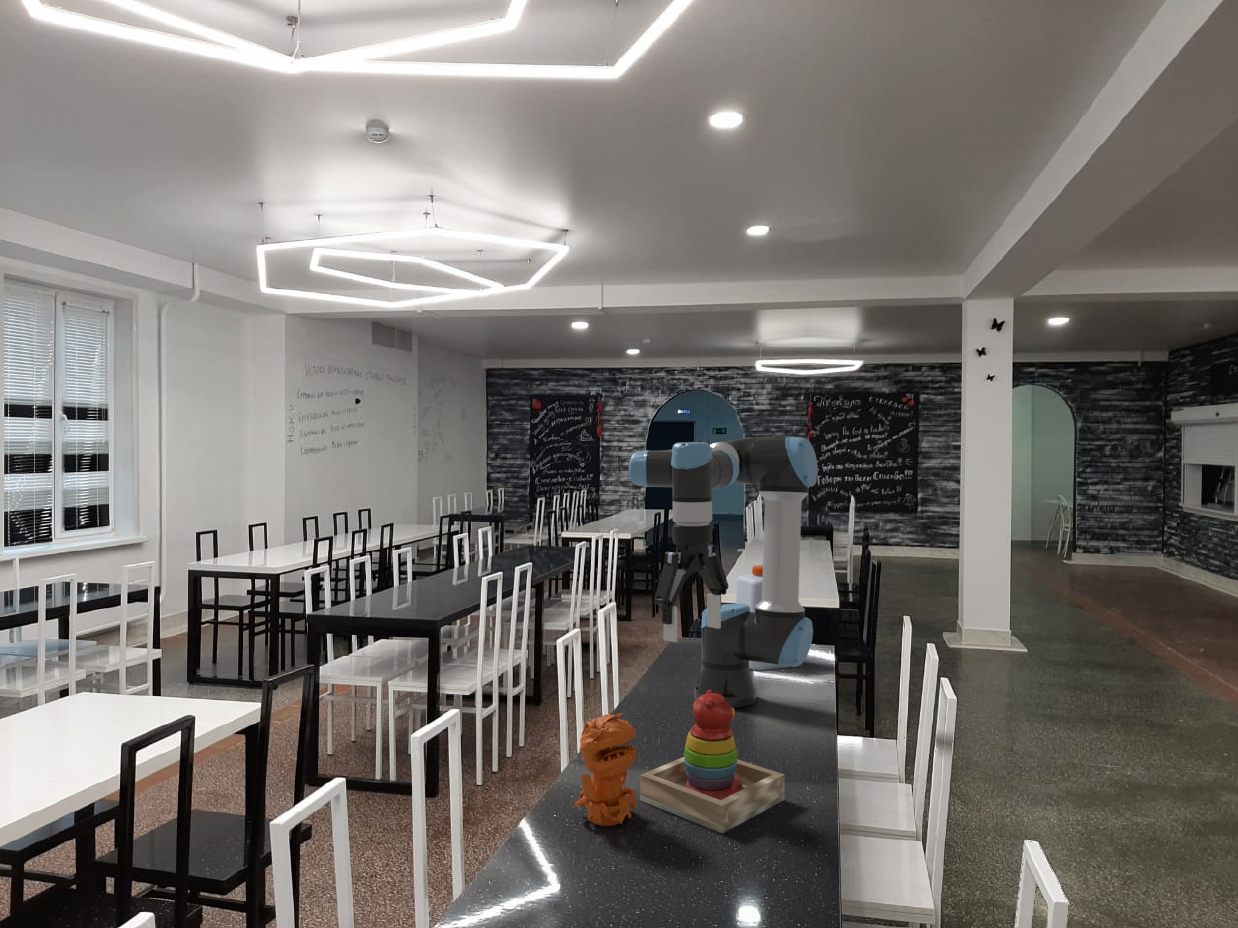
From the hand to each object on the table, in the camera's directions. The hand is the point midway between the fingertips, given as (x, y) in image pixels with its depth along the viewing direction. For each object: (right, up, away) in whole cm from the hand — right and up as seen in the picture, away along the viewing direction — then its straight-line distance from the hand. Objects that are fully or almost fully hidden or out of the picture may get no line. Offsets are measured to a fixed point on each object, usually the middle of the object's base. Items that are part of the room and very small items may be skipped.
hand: (692, 634), depth 159 cm
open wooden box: (+2, -27, -13) cm, 30 cm away
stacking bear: (+2, -26, -12) cm, 29 cm away
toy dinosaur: (-16, -27, -20) cm, 37 cm away
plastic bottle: (+27, -25, +80) cm, 89 cm away
